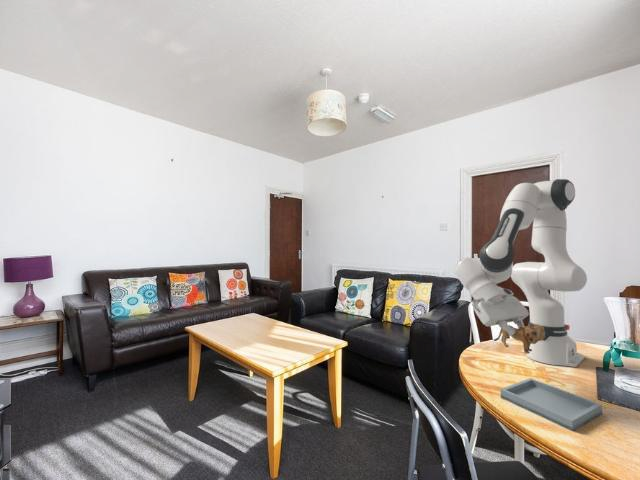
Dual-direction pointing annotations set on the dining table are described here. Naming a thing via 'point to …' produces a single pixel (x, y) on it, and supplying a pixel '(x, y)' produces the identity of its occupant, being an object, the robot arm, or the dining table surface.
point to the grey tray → (552, 403)
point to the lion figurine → (525, 335)
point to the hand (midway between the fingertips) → (519, 333)
